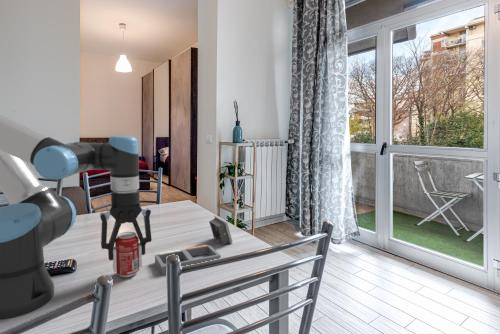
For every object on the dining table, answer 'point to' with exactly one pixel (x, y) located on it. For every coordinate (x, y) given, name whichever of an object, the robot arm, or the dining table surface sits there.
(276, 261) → the dining table surface
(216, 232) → the electrical switch
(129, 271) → the beverage can
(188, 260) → the socket board
